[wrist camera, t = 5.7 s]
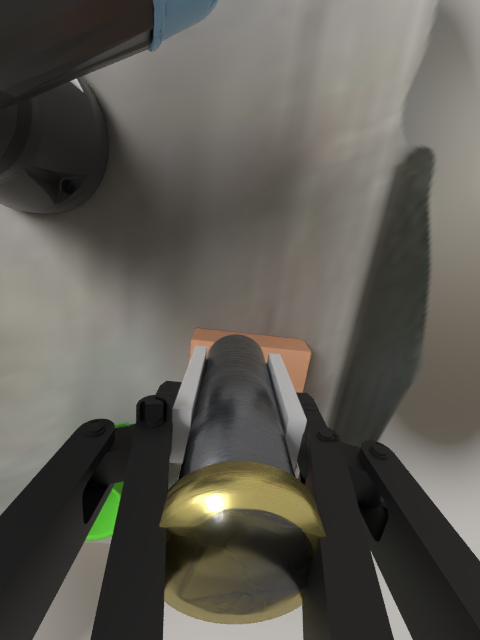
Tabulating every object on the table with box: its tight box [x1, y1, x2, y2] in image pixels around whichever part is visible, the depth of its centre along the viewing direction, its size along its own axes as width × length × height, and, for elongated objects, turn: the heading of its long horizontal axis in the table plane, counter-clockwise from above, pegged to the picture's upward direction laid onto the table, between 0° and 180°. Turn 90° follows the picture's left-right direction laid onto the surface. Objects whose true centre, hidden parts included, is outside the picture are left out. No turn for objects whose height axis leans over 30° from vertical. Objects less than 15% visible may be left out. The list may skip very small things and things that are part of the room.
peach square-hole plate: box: [190, 328, 312, 393], centre depth 31 cm, size 20×14×14 cm
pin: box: [159, 334, 326, 624], centre depth 13 cm, size 5×5×12 cm
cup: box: [85, 423, 130, 541], centre depth 34 cm, size 9×9×11 cm
